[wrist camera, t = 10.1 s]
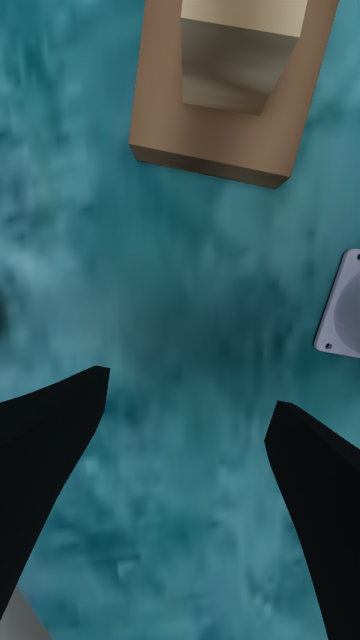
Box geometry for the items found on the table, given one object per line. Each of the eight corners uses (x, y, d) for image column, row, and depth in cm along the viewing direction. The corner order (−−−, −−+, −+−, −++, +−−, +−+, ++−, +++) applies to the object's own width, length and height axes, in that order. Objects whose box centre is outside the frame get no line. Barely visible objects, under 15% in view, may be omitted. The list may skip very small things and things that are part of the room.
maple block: (279, 16, 13) (337, -135, 8) (259, 115, 14) (299, 37, 9) (195, 2, 13) (201, -159, 8) (182, 103, 14) (180, 17, 9)
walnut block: (318, 18, 15) (350, -41, 12) (273, 191, 17) (290, 177, 14) (161, -16, 15) (155, -84, 12) (138, 163, 17) (128, 143, 14)
